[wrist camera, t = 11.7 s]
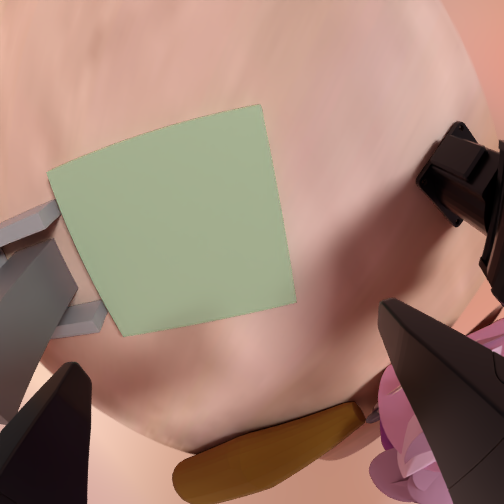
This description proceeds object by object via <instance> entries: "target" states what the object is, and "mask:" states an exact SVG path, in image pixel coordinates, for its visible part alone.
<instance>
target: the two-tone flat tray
mask: <svg viewBox="0 0 504 504" xmlns="http://www.w3.org/2000/svg"><path fill="white" fill-rule="evenodd" d="M46 173H47V176H48V179H49V181H50V184H51V187H52V190H53V193H54V195H55V198H56V200H57V203H58V206H59V208H60V211H61V213H62V216H63V218H64V221H65V223H66V225H67V228H68V230H69V232H70V235H71V237H72V239H73V241H74V244H75V246H76V248H77V250H78V252H79V255H80V257H81V259H82V261H83V263H84V265H85V267H86V269H87V271H88V273H89V275H90V277H91V279H92V281H93V283H94V285H95V287H96V289H97V291H98V293H99V295H100V297H101V298H102V300H103V302H104V304H105V306H106V307H105V306H104V304H103V302H102V300H99V301H94V302H89V303H84V304H79V305H74V306H69V307H67V308H66V310H65V312H64V314H63V316H62V318H61V319H60V321H59V323H58V325H57V327H56V329H55V331H54V333H53V335H52V337H51V338H50V339H57V338H64V337H71V336H78V335H85V334H91V333H98V332H100V330H101V327H102V325H103V322H104V320H105V317H106V315H107V312H108V311H109V313H110V315H111V316H112V318H113V320H114V322H115V323H116V325H117V327H118V329H119V330H120V332H121V334H122V335H123V337H126V336H133V335H139V334H145V333H151V332H157V331H162V330H168V329H174V328H179V327H185V326H190V325H195V324H200V323H205V322H210V321H215V320H220V319H225V318H230V317H235V316H240V315H244V314H249V313H253V312H258V311H262V310H267V309H271V308H276V307H280V306H284V305H288V304H293V303H297V301H296V295H295V288H294V282H293V276H292V269H291V263H290V257H289V251H288V245H287V239H286V233H285V228H284V222H283V216H282V211H281V205H280V200H279V194H278V189H277V183H276V178H275V173H274V167H273V162H272V157H271V152H270V147H269V142H268V137H267V132H266V127H265V122H264V117H263V112H262V108H261V105H260V104H257V105H252V106H247V107H242V108H238V109H233V110H228V111H224V112H220V113H215V114H211V115H207V116H203V117H199V118H195V119H192V120H188V121H184V122H181V123H177V124H174V125H170V126H167V127H163V128H160V129H157V130H154V131H150V132H147V133H144V134H141V135H138V136H135V137H132V138H129V139H126V140H123V141H121V142H118V143H115V144H112V145H110V146H107V147H104V148H102V149H99V150H96V151H94V152H91V153H89V154H86V155H84V156H81V157H79V158H77V159H74V160H72V161H69V162H67V163H65V164H62V165H60V166H58V167H56V168H53V169H52V170H50V171H48V172H46ZM56 200H55V199H54V200H51V201H49V202H47V203H44V204H42V205H39V206H37V207H35V208H33V209H30V210H28V211H26V212H24V213H21V214H19V215H17V216H15V217H13V218H10V219H8V220H6V221H4V222H2V223H0V268H1V267H2V266H3V265H4V264H5V263H6V261H7V258H6V256H5V254H4V252H3V250H2V248H1V247H2V246H4V245H6V244H9V243H11V242H14V241H16V240H19V239H21V238H24V237H26V236H29V235H31V234H34V233H36V232H39V231H42V230H44V229H46V228H47V227H48V226H49V225H50V224H51V223H52V222H53V221H54V220H55V219H57V218H58V217H59V216H60V215H61V213H60V211H59V208H58V206H57V203H56ZM106 308H107V309H108V311H107V309H106Z"/></svg>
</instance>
